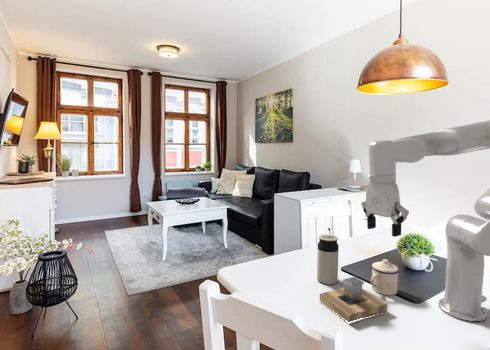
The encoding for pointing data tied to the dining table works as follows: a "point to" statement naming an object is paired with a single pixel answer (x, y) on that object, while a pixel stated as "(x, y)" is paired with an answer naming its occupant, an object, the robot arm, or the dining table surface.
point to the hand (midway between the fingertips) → (383, 231)
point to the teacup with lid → (384, 277)
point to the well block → (356, 311)
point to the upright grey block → (352, 290)
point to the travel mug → (327, 259)
